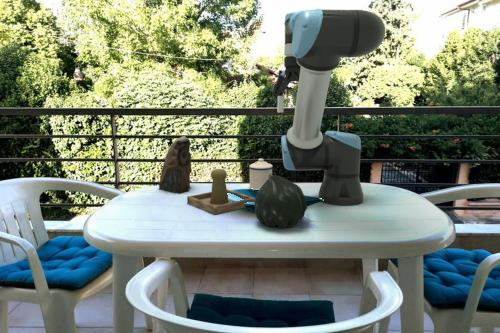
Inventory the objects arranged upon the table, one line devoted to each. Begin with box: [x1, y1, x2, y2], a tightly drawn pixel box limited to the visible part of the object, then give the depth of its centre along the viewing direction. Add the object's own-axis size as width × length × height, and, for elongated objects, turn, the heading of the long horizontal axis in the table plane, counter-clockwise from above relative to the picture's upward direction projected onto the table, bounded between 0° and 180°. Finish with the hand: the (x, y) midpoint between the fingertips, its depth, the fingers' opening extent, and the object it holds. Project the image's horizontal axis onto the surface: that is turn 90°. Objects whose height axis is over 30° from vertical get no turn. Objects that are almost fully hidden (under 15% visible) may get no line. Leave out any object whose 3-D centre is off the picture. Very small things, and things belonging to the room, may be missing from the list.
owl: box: [158, 135, 193, 194], centre depth 145 cm, size 13×13×20 cm
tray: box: [186, 188, 256, 216], centre depth 127 cm, size 16×16×2 cm
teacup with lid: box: [248, 158, 274, 189], centre depth 148 cm, size 12×9×12 cm
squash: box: [254, 174, 308, 229], centre depth 108 cm, size 14×15×15 cm
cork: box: [210, 168, 228, 205], centre depth 126 cm, size 6×6×11 cm
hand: (293, 112), depth 150 cm, fingers open, 13 cm apart
